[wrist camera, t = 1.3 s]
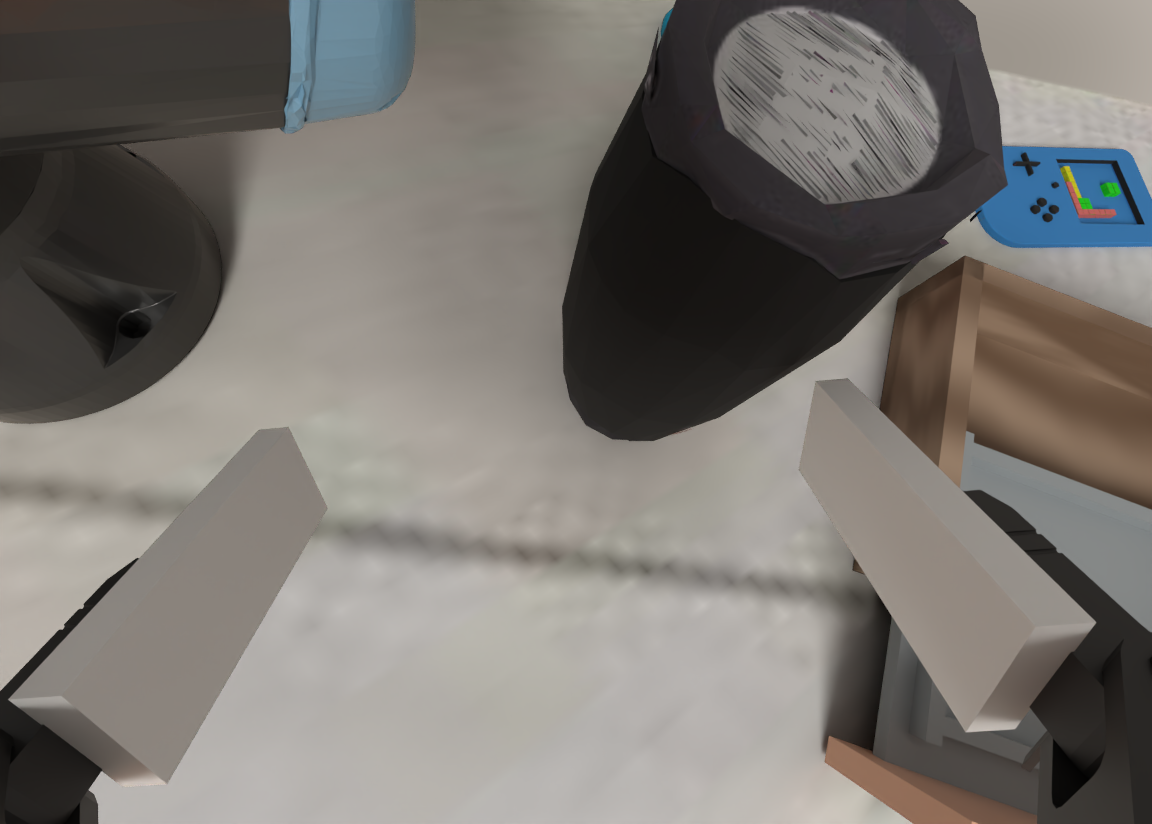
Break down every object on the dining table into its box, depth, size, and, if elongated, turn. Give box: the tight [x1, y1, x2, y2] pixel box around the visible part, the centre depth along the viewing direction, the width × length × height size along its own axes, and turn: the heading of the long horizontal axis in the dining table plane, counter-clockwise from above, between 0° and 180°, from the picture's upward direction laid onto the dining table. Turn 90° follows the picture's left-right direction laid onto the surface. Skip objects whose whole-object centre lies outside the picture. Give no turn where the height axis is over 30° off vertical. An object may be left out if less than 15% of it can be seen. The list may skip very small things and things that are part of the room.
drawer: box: [825, 431, 1152, 824], centre depth 23 cm, size 18×21×8 cm
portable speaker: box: [562, 0, 1008, 441], centre depth 19 cm, size 9×9×20 cm
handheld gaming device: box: [975, 146, 1152, 248], centre depth 36 cm, size 8×1×15 cm
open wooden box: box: [853, 256, 1152, 575], centre depth 28 cm, size 18×21×5 cm
